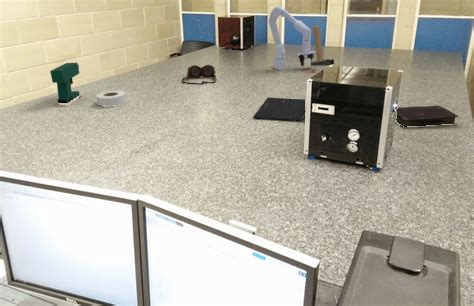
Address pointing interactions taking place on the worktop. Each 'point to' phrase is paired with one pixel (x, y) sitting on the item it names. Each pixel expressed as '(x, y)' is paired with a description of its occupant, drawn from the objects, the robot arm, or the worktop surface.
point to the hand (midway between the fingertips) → (305, 65)
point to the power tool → (65, 81)
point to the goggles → (200, 73)
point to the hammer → (319, 49)
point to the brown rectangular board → (309, 70)
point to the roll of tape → (111, 98)
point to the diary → (424, 116)
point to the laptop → (282, 109)
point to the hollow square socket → (307, 62)
